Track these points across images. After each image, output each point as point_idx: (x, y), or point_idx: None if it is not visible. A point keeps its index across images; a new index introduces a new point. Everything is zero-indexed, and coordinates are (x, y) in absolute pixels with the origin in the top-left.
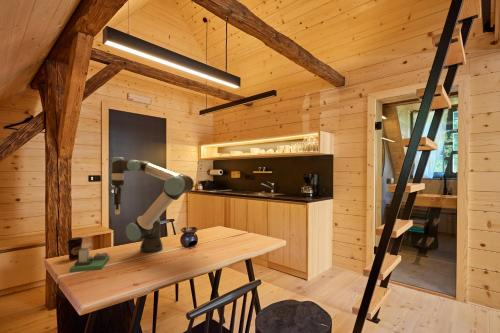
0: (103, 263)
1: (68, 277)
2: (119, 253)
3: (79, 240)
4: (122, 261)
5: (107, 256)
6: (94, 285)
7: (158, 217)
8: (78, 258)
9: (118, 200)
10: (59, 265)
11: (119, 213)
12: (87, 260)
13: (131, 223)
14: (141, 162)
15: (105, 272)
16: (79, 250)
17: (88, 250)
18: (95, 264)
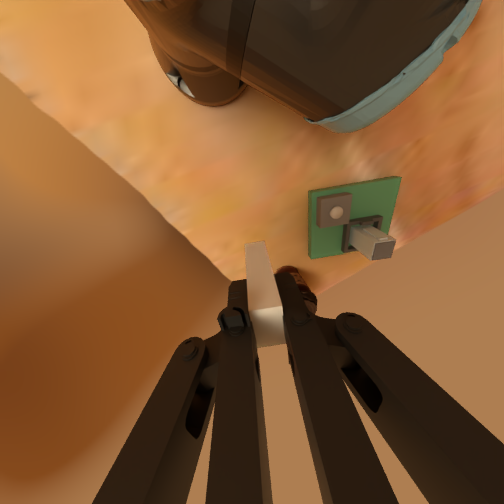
0: (383, 180)
1: (415, 229)
2: (254, 180)
3: (309, 296)
4: (346, 135)
5: (316, 196)
6: None
7: None
8: (293, 267)
9: (406, 377)
10: (325, 281)
11: (260, 243)
12: (366, 227)
13: (440, 51)
14: None
15: (428, 153)
16: (389, 257)
17: (385, 237)
18: (383, 199)
